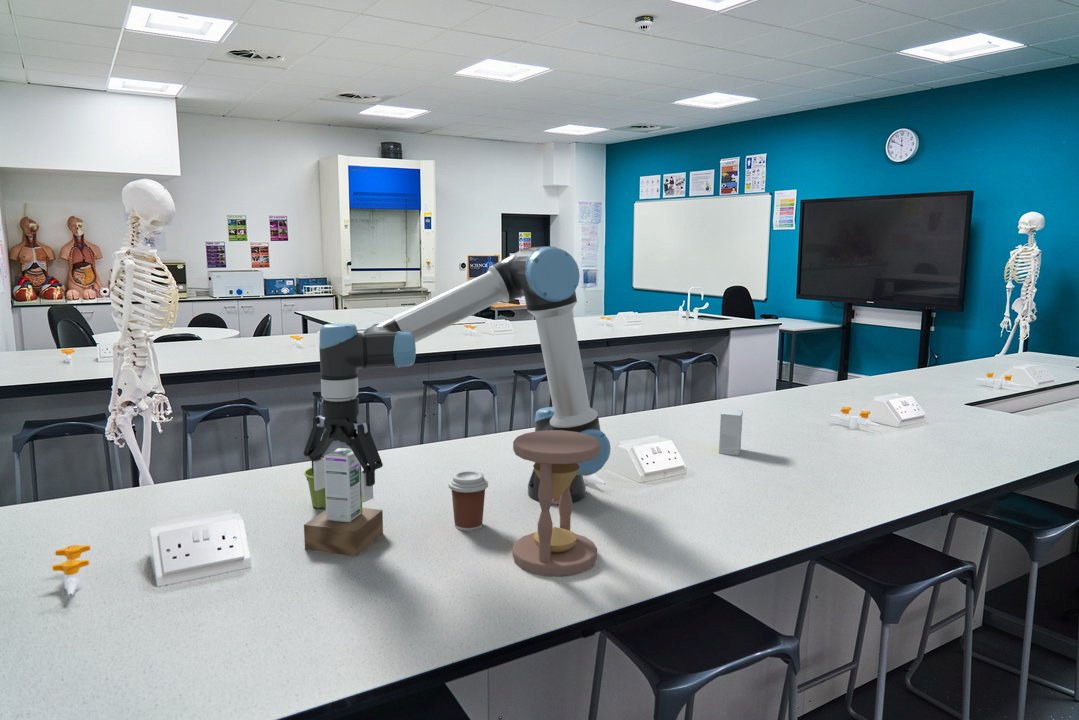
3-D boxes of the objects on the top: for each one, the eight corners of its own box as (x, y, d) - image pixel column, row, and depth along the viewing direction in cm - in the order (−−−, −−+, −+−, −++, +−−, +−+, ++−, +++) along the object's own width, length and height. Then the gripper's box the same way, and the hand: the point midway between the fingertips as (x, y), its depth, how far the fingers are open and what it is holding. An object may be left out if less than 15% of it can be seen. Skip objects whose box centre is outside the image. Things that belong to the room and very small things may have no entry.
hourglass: (570, 585, 133) (573, 458, 129) (495, 562, 142) (496, 444, 138) (611, 552, 147) (614, 437, 143) (541, 533, 156) (543, 425, 152)
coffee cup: (451, 535, 155) (451, 483, 153) (446, 519, 164) (445, 470, 162) (491, 531, 157) (492, 480, 156) (484, 516, 166) (484, 467, 164)
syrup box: (350, 523, 146) (349, 456, 144) (324, 520, 148) (323, 453, 146) (362, 513, 152) (362, 449, 150) (338, 510, 153) (337, 447, 151)
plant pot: (352, 504, 173) (351, 470, 171) (317, 514, 166) (316, 479, 164) (332, 495, 179) (331, 462, 178) (298, 504, 172) (296, 470, 171)
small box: (720, 447, 227) (722, 408, 225) (740, 449, 225) (743, 409, 223) (718, 453, 220) (720, 413, 218) (739, 455, 218) (741, 415, 216)
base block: (383, 535, 155) (382, 509, 154) (356, 558, 144) (355, 530, 143) (334, 529, 158) (333, 504, 157) (305, 551, 147) (303, 524, 146)
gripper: (398, 400, 143) (400, 499, 146) (310, 388, 155) (314, 479, 158) (373, 407, 137) (376, 510, 140) (284, 394, 148) (288, 489, 152)
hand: (343, 494), depth 149 cm, fingers open, 13 cm apart
